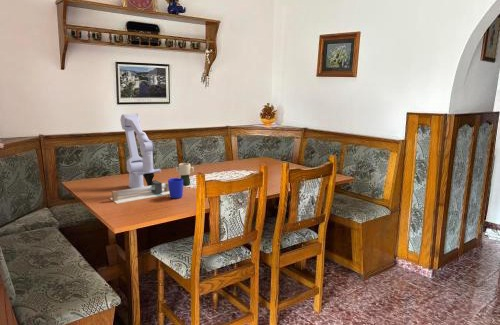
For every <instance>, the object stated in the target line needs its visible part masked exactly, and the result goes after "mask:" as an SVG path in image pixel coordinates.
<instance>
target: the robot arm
mask: <svg viewBox="0 0 500 325" xmlns="http://www.w3.org/2000/svg"><path fill="white" fill-rule="evenodd" d="M140 122H141V116H140V115H139V114H138V113H129V114H121V116H120V124H121V129H122V130H124V132H125V137H126V143H127V147H128V152H129V158H128V159H127V160H126V171H127V172H128V173H129V175H128V185H127V186H128V187H129V189H132V188H138V187H145V186H151V183H152V181H153V179H154V177H155V174H157V173H162V168H154V159H153V158H154V157H153V156H154V155H153V154H154V153H153V152H154V151H155V144H154V142H153V141H152V140H150V139H149V137H148V135H147V134H146V131H145V132H144V131H143V129H142V127H141V124H140ZM135 134H136V135H135ZM137 142H138V144H139V150H140V154H141V156H142V157H141V156H140V155H139V151H138V146H137ZM144 180H145V183H146V185H144Z"/></svg>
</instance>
